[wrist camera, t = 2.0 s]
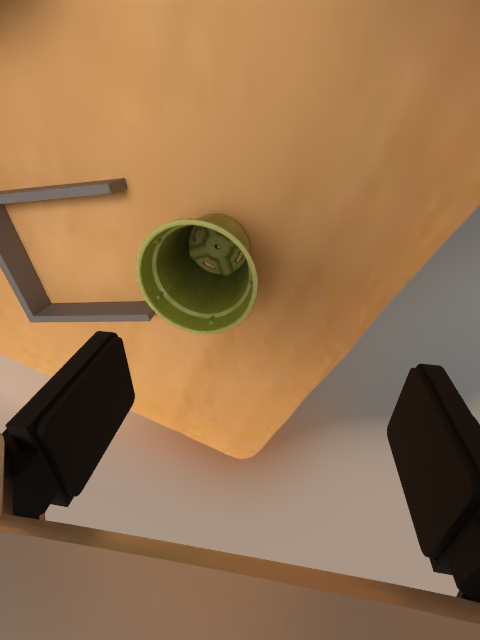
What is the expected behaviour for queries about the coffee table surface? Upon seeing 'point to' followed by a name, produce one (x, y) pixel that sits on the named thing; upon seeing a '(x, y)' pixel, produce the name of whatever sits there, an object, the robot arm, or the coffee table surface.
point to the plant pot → (198, 274)
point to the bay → (10, 255)
